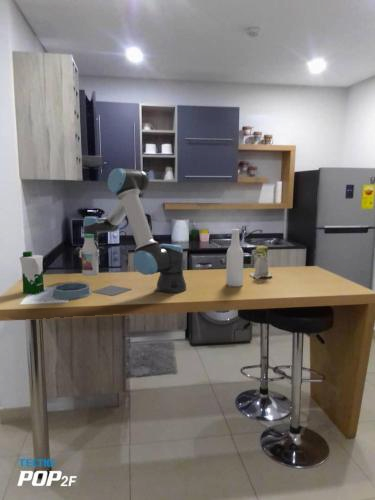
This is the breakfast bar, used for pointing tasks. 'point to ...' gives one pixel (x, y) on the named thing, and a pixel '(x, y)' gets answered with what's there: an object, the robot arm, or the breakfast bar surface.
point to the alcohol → (234, 261)
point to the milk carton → (32, 273)
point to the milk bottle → (89, 256)
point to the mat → (111, 290)
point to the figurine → (261, 263)
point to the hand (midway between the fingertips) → (89, 254)
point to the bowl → (71, 291)
